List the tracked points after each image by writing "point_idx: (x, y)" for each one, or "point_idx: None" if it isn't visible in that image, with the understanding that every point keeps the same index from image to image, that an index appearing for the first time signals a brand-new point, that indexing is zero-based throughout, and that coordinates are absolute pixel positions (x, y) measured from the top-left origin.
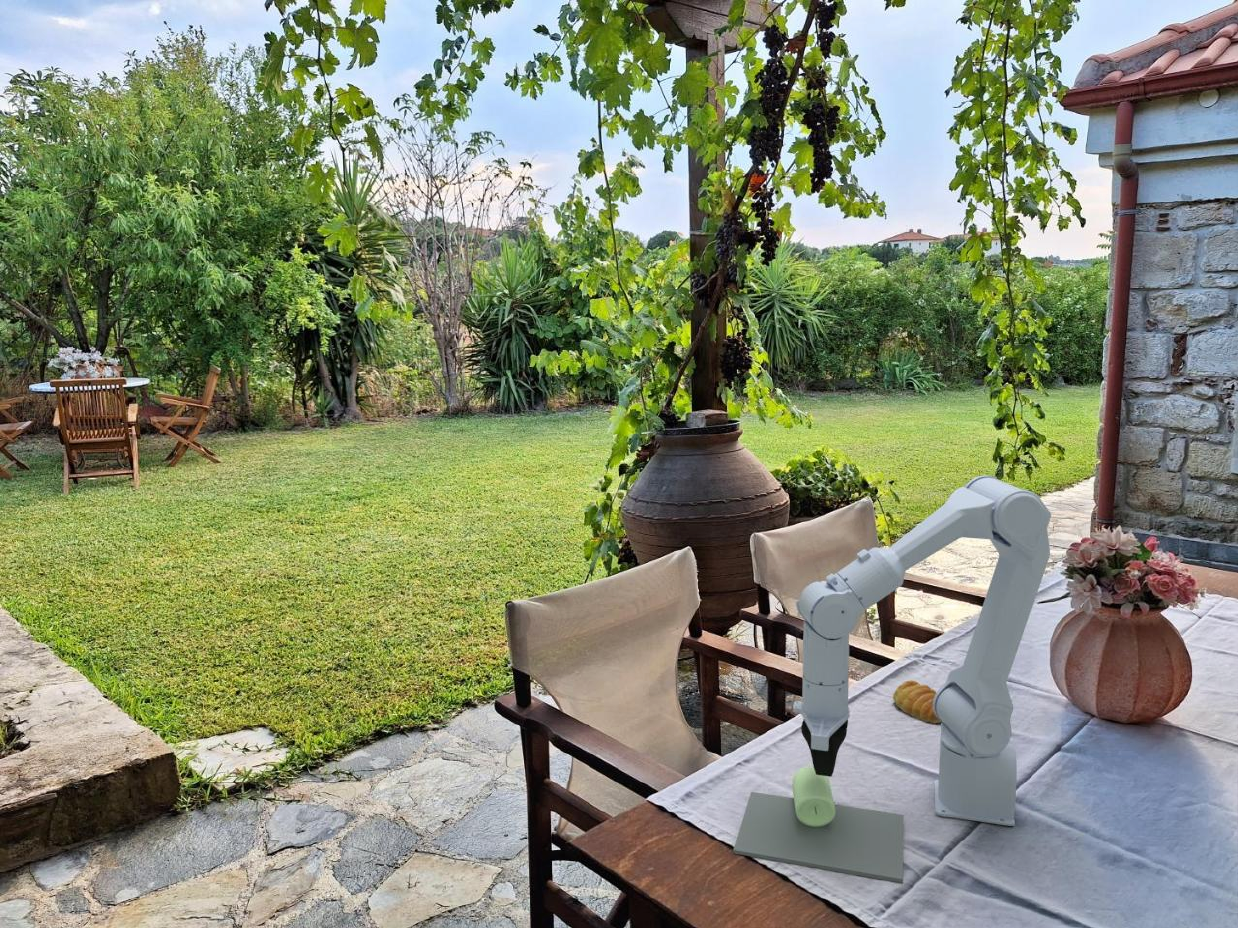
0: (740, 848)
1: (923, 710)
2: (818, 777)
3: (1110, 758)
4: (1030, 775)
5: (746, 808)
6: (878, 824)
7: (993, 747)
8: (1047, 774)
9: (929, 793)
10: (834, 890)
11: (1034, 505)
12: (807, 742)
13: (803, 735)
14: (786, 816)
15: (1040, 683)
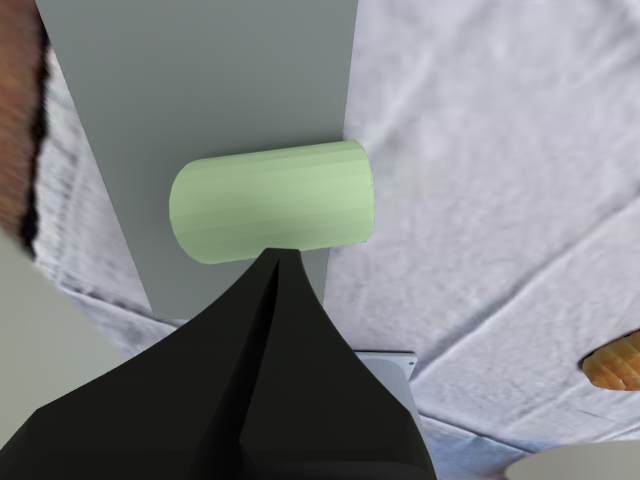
0: None
1: (620, 364)
2: (307, 236)
3: (457, 455)
4: (430, 417)
5: None
6: None
7: None
8: (432, 426)
9: (390, 345)
10: (73, 228)
11: None
12: (137, 355)
13: (29, 417)
14: (255, 123)
15: (630, 437)
